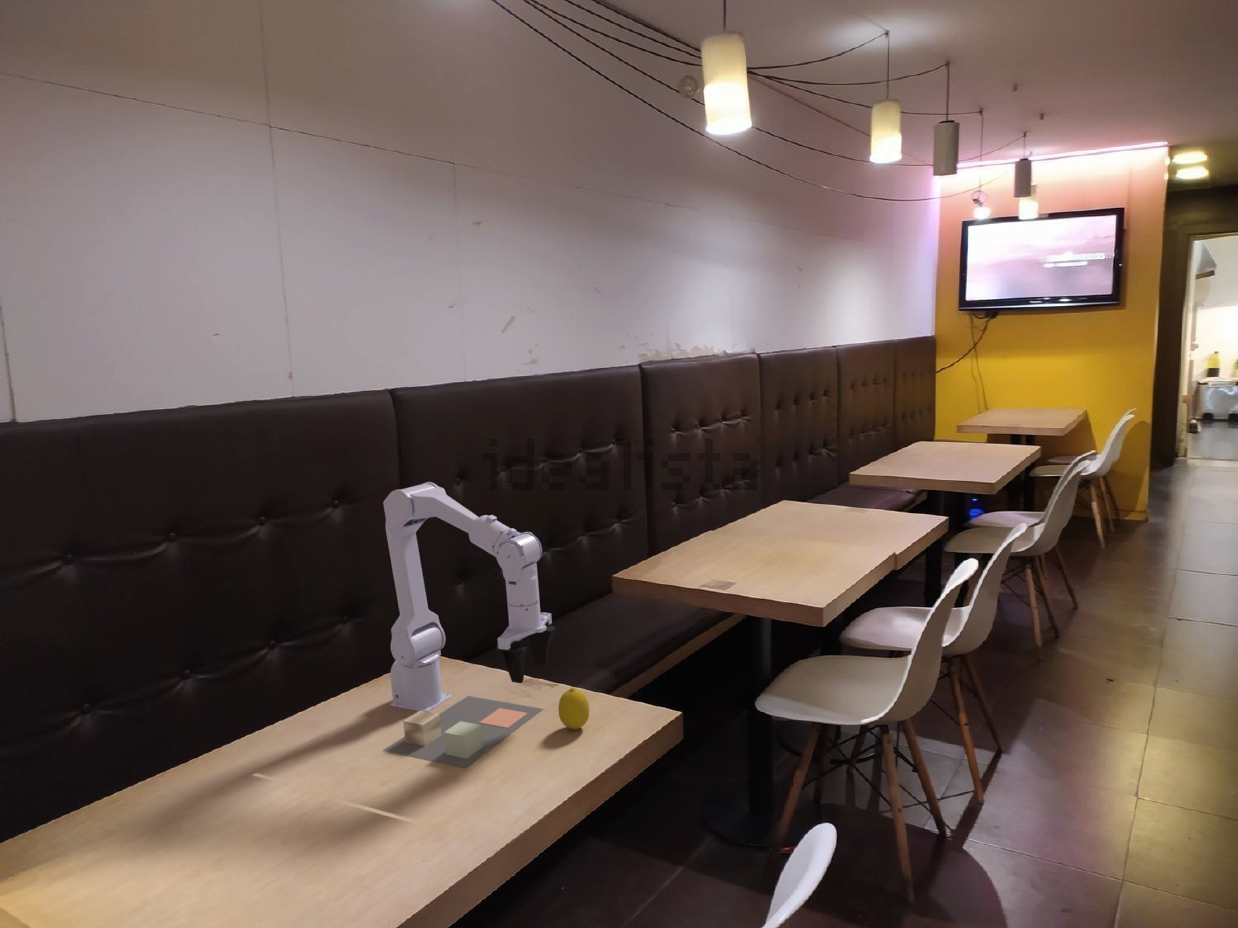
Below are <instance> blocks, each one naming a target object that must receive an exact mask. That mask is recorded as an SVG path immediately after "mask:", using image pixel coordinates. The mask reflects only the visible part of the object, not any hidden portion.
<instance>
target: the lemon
mask: <svg viewBox="0 0 1238 928" xmlns="http://www.w3.org/2000/svg"><path fill="white" fill-rule="evenodd" d="M559 698H560V699H559V702H558V716H559V719H560V721H561V723H562V725H564V726H565V727H567V728H568V729H572V730H573V731H577V730H579V729H580V728H582V727H583V726H584V725H586V723H588V719H589V717H590V703H589V700H588V697H587V695H586V694H585V693H584V692H583V691H582V690H580V689H577V688H574V687H570V689H568V690H566V691H565V692H564V693H562V695H561V697H559Z"/></svg>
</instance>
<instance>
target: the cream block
mask: <svg viewBox="0 0 1238 928" xmlns="http://www.w3.org/2000/svg"><path fill="white" fill-rule="evenodd" d="M402 723H403V724H402V725H403V731H404V732H403V733H404V736H405V742H407V743H411V744H416V745H421V746H426V745H428V744H429V743H431V742H432V741H434V740H435V739H437V738H438V737H440V736H441V735H442V734H441V724H440V713H434V712H431V711H428V712H425V711H416V712H415V713H414V714H413V715H410V716H409V717H407V718H406V719H404V720H403V722H402Z"/></svg>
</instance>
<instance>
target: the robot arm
mask: <svg viewBox="0 0 1238 928" xmlns="http://www.w3.org/2000/svg"><path fill="white" fill-rule="evenodd" d="M382 504H383V510H384V514H385V533H386V537H387V538H386V540H387V543H388V544H387V545H388V550H389V557H390V561H391V569H392V575H393V580H394V586H395V592H396V598H397V604H398V605H397V606H398V611H399V616H398V618H397V619H396V620H395V623H393V625H392V627H391V629H390V630H391V631H390V632H391V641H390V652H391V654H392V657H393V659H394V660H395V661H394V662H393V664H391V665H392V666H391V668H390V676H389V677H390V685H391V694H392V695H391V696H392V702H391V703H390V704H389V705H390V707H391V706H392V707H395V708H400V709H405V710H412V711H416V712H419V711H425V712H431V711H432V710H433V709H435V708H436V707H438V706H440V705H441V704H443V703H444V702H446V701H448V700H449V699H451V698H452V697H453V695H452V694H448V693H443V689H442V688H443V687H442V679H441V678H442V677H441V667H440V659H439V658H440V656H441V655H442V653H441V650H442V649H443V648H444V646H445V644H446V634H445V631H444V628H443V627H442V625H441V623H440V619H439V615H438V614H436V613H435V612H433V611H431V610H430V609H429V607H428V599H427V593H426V588H425V581H424V580H425V579H424V576H423V569H422V564H421V558H420V557H421V556H420V552H419V544H418V539H417V534H416V533H417V531H418V530H419V529H420V527H422V525H423V524H424V522H425V521H426V520H429V518H438V519H440V520H442V521H444V522H445V523H448V524H450V525H452V526H453V527H456V528H458V529H460V530H461V531H464V532H465V533H467V534H468V538H469V541H470V542H471V543H472V544H473V545H475V546H477V547H479V548H481V550H484V551H485V552H487V553H488V554H490V555H492V556H494V557H495V558H496V561H497V564H498V565H499V566H500V568H501V570H502V575H503V578H504V580H505V589H506V602H507V613H508V626H507V628H506V629H505V630H504V632H503V633H502V634H501V635H500V636H499V637H497V643H496V645H495V651H496V652H497V654H498V655H499V656H500V658H501V659H502V661H503V663H504V665H505V667H506V669H507V672H508V675H509V678H510V680H511V682H512V683H517V684H522V683H524V679H525V659H526V654H527V651H528V648H529V647H528V646H523V645H521V644H520V643H519V641H522V639H524V638H526V637H527V638H528V641H529V644H530V647H531V653H532V655H531V656H532V660H533V663H534V666H535V667H538V668H545V667H547V664H548V656H549V651H550V646H551V643H552V640H553V638H554V636H555V633H556V631H557V630H556V627H555V626H551V625H552V623H553V622H552V621H553V620H552V619H553V618H552V613H550V612H541V606H540V605H541V604H540V590H539V578H538V565H537V562H538V561H539V560H540V559H541V557H542V554H543V548H542V543H541V542H540V540H539V538H538V537H536V535H535V534H533V533H532V532H530V531H525V532H519V531H517V529H515V528H513V527H512V528H510V527H509V526H507V525H505V524H503V523H502V522H500V521H498V520H497V519H498V517H497V516H495V515H493V514H490V515H487V514H484V515H481V516H478V515H476V514H475V513H474V512H472V511H471V510H469V509H468V508H466V507H465V506H463V505H462V504H461V503H459V502H458V501H456V500H455V499H453V498H452V497H450V496H449V495H447V492H446V490H445V488H443V487H441V486H438V485H437V483H436V484H435V483H434V482H431V481H427V482H423V483H421V484H418V485H414V486H410V487H406V488H401V489H395V490H393V491H392V490H391V492H390V493H389V494H388V495H387V496H386V498H385V499H384V501H383V502H382Z"/></svg>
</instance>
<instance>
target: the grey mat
mask: <svg viewBox="0 0 1238 928" xmlns="http://www.w3.org/2000/svg"><path fill="white" fill-rule="evenodd" d="M543 710H544V708H542V707H540V708H539V707H536V706H535V707H534V706H529V705H523V704H517V703H511V702H507V701H506V702H505V701H501V700H494V699H487V698H481V697H476V696H471V695H467V696H465V698H462V699H461V700H459V701H458V702H456V703H455V704H453V705H451V706H450V707H449V708H447V709H445V710H444V711H442V712H440V713H439V714H440V724H441V734H442V735H441V736H440V737H438V738H437V739H435V740H434V741H432V742H431V743H429V744H428V745H426V746H421V745H416V744H411V743H407V742H405V735H404V736H403V737H402V738H400V739H398V740H397V741H395V742H393V744H391V745H389V746H387V747H386V748H385V749H383V752H384V751H385V752H389V753H394V754H399V755H403V756H407V757H412V758H416V759H421V760H425V761H429V762H433V763H438V764H443V765H447V766H451V767H457V768H461V769H467V768H468V767H469V766H470V765H472V764H473V763H475V762H476V761H477V760H479V759H480V758H481V757H482V756H484V755H485V754H486V753H488V752H489V751H490V750H492V749H493V748H494V747H495V746H497V745H498V744H500V743H501V742H502V741H504V740H505V739H506V738H507V737H509V736H510V735H512V734H513V733H514V732H515V731H517V730H518V729H520V728H521V727H522V726H523V725H525V724H526V723H528V722H529V721H530V720H531V719H533V718H534V717H536V716H537V715H538V714H539V713H540V712H542V711H543ZM460 721H462V722H467V723H472V724H478V725H481V730H482V741H483V747H482V748H481V749H480V750H478V751H477V752H475V753H474V754H473V755H471V756H470V757H469V758H467V759H465V758H461V757H456V756H452V755H447V754H446V749H445V739H444V732H445V731H447V730H448V729H450V728H451V727H453V726H454V725H455V724H457V723H458V722H460Z"/></svg>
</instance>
